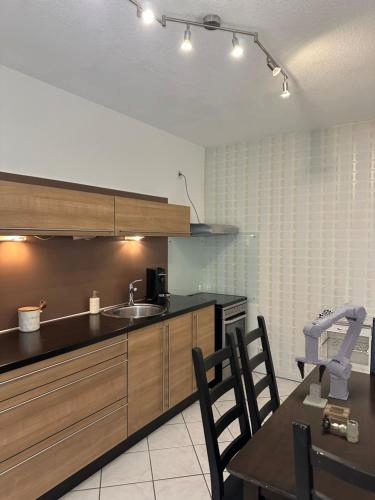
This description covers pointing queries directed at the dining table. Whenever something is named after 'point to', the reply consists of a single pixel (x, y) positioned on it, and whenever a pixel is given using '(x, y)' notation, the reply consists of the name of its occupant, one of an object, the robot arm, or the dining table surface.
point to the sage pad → (320, 405)
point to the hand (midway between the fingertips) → (311, 380)
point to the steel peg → (315, 393)
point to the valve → (342, 428)
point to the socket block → (339, 410)
